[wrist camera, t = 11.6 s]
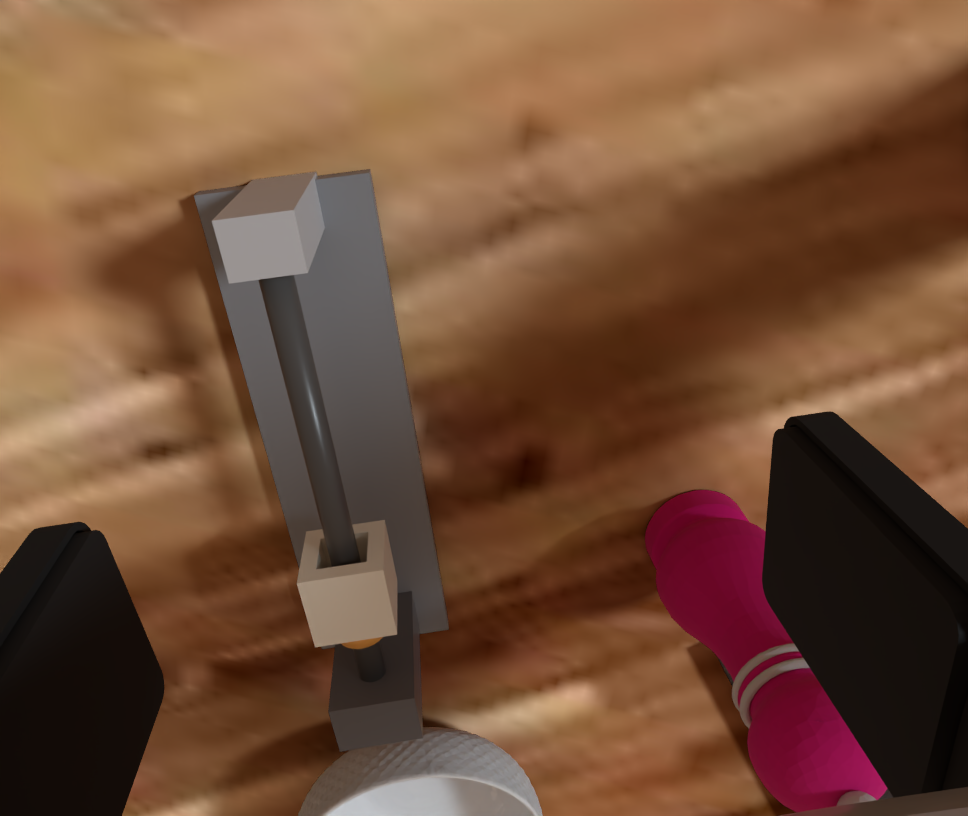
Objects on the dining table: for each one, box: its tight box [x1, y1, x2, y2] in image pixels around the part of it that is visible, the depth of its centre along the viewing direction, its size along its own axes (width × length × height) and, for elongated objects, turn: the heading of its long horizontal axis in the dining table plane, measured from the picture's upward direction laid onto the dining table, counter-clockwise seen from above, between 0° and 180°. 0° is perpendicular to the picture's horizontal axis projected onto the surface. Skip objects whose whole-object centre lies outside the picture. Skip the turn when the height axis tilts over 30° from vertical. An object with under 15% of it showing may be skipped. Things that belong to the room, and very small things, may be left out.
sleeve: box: [297, 520, 397, 647], centre depth 37 cm, size 4×4×4 cm
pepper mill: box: [645, 490, 888, 812], centre depth 38 cm, size 7×7×20 cm
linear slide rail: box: [194, 169, 449, 752], centre depth 37 cm, size 8×28×9 cm, turn 6°
